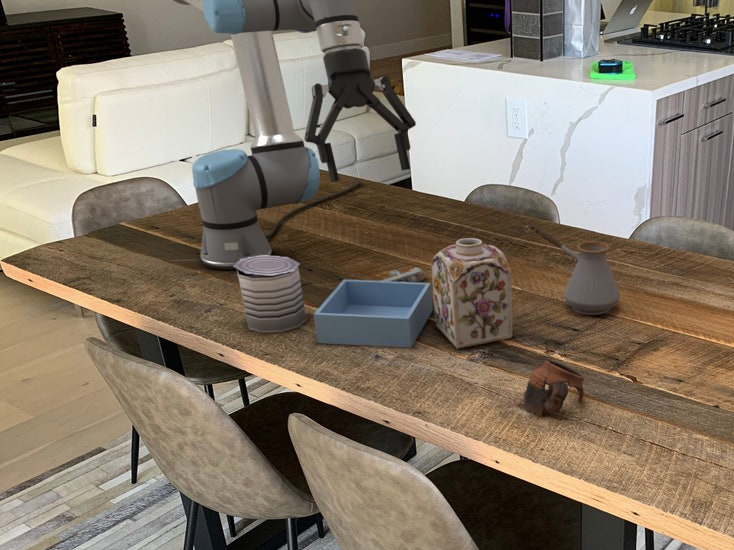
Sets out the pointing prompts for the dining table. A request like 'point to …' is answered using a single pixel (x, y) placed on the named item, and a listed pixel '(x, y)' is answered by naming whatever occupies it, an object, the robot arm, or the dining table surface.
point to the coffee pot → (588, 277)
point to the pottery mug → (551, 387)
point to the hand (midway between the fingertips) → (371, 175)
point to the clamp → (407, 275)
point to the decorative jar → (472, 293)
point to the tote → (374, 313)
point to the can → (271, 293)
